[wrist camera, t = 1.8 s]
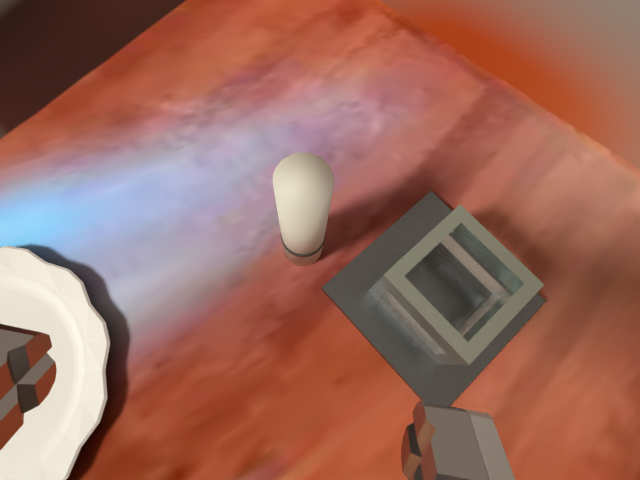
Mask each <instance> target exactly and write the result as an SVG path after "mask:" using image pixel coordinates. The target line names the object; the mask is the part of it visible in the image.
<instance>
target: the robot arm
mask: <svg viewBox="0 0 640 480" xmlns="http://www.w3.org/2000/svg"><path fill="white" fill-rule="evenodd" d="M51 347H52V343H51V339H50V336H49V335H48V334H45V333H42V332H37V331H32V330H28V329H23V328H18V327H13V326H9V325H4V324H0V450H1V449H2V448H3V447H4V446H5V445H6V444H7V442H8V441H9V440H10V439H11V438H12V437H13V435H14V434H15V433H16V432H17V431H18V430H19V428H20V427H21V426H22V425H23V423H24V413H26V412H28V411H30V410H32V409H33V408H35V407H37V406H39V405H40V404H41V403H42V402H43V400H44V399H45V398H46V397H47V396H48V394H49V392H50V390H51V388H52V386H53V384H54V382H55V379H56V372H57V369H56V363H55V361H54V360H53V359H52V358H51V357H50V356H49V355H48V353H47V352H48V351H49V350H50V349H51ZM413 418H414V422H413V423H412V424H410V425H408V426H407V427H406V430H405V433H404V436H403V441H402V448H401V461H402V471H403V473H404V474H405V476H406V477H407V478H408V480H515V477H514V475H513V472H512V469H511V467H510V464H509V461H508V459H507V456H506V454H505V451H504V448H503V446H502V443H501V440H500V438H499V435H498V432H497V430H496V427H495V425H494V422H493V419H492V417H491V416H490V415H489V414H488V413H482V412H477V411H471V410H466V409H465V410H463V409H461V408H455V407H449V406H444V405H438V404H432V403H426V402H418V403H417V404H416V406H415V408H414V411H413Z"/></svg>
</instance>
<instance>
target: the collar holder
mask: <svg viewBox="0 0 640 480" xmlns="http://www.w3.org/2000/svg"><path fill="white" fill-rule="evenodd" d="M543 286H544V284H543V283H542V282H541V281H540V280H539V279H538V278H537V277H536V276H535V275H534V274H533V273H532V272H531V271H530V270H529V269H528V268H527V267H525V266H524V265H523V264H522V263H521V262H520V261H519V260H518V259H517V258H516V257H515V256H514V255H513V254H512V253H511V252H510V251H509V250H508V249H507V248H506V247H504V246H503V245H502V244H501V243H500V242H499V241H498V240H497V239H496V238H495V237H494V236H493V235H492V234H491V233H490V232H489V231H488V230H487V229H486V228H485V227H483V226H482V225H481V224H480V223H479V222H478V221H477V220H476V219H475V218H474V217H473V216H472V215H471V214H470V213H469V212H468V211H467V210H466V209H465V208H464V207H463V206H461V205H459V206H458V207H456V208H455V209H454V210H453V211H452V210H451V209H450V208H449V207H448V206H447V205H446V204H445V203H443V202H442V201H441V200H440V199H439V198H438V197H437V196H436V195H435V194H434V193H433V192H432V191H430V192H429V193H428V194H427V195H426V196H424V197H423V198H422V199H421V200H420V201H419V202H418V203H417V204H415V205H414V206H413V207H412V208H411V209H410V210H409V211H408V212H406V213H405V214H404V215H403V216H402V217H401V218H400V219H399V220H397V221H396V222H395V223H394V224H393V225H392V226H391V227H390V228H388V229H387V230H386V231H385V232H384V233H383V234H382V235H380V236H379V237H378V238H377V239H376V240H375V241H374V242H373V243H371V244H370V245H369V246H368V247H367V248H366V249H365V250H364V251H362V252H361V253H360V254H359V255H358V256H357V257H356V258H355V259H353V260H352V261H351V262H350V263H349V264H348V265H347V266H346V267H344V268H343V269H342V270H341V271H340V272H339V273H338V274H336V275H335V276H334V277H333V278H332V279H331V280H330V281H329V282H327V283H326V284H325V285H324V286H323V287H322V288H321V289H322V290H323V291H324V293H325V294H326V295H327V296H328V297H329V298H330V299H331V300H332V301H333V303H334V304H335V305H336V306H337V307H338V308H339V309H340V310H341V311H342V313H343V314H344V315H345V316H346V317H347V318H348V319H349V320H350V321H351V323H352V324H353V325H354V326H355V327H356V328H357V329H358V330H359V331H360V333H361V334H362V335H363V336H364V337H365V338H366V339H367V340H368V341H369V343H370V344H371V345H372V346H373V347H374V348H375V349H376V350H377V351H378V353H379V354H380V355H381V356H382V357H383V358H384V359H385V360H386V361H387V363H388V364H389V365H390V366H391V367H392V368H393V369H394V370H395V371H396V373H397V374H398V375H399V376H400V377H401V378H402V379H403V380H404V381H405V383H406V384H407V385H408V386H409V387H410V388H411V389H412V390H413V391H414V393H415V394H416V395H417V396H418V397H419V398H420V399H421V400H422V401H423V402H426V403H432V404H438V405H444V406H450V405H451V404H452V403H453V402H454V401H455V400H456V398H457V397H458V396H459V395H460V394H461V393H462V392H463V391H464V390H465V389H466V388H467V386H468V385H469V384H470V383H471V382H472V381H473V380H474V379H475V378H476V377H477V376H478V374H479V373H480V372H481V371H482V370H483V369H484V368H485V367H486V366H487V365H488V364H489V363H490V361H491V360H492V359H493V358H494V357H495V356H496V355H497V354H498V353H499V352H500V351H501V349H502V348H503V347H504V346H505V345H506V344H507V343H508V342H509V341H510V340H511V339H512V338H513V336H514V335H515V334H516V333H517V332H518V331H519V330H520V329H521V328H522V327H523V326H524V324H525V323H526V322H527V321H528V320H529V319H530V318H531V317H532V316H533V315H534V314H535V312H536V311H537V310H538V309H539V308H540V307H541V306H542V305H543V304H544V303H545V302H546V301H545V300H544V299H543V298H542V297H541V296H540V295H539V294H538V293H537V292H538V291H539V290H540V289H541V288H542V287H543Z"/></svg>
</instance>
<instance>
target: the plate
mask: <svg viewBox="0 0 640 480" xmlns="http://www.w3.org/2000/svg"><path fill="white" fill-rule="evenodd" d="M0 324H4V325H9V326H13V327H18V328H23V329H28V330H32V331H37V332H42V333H45V334H48V335H49V336H50V339H51V343H52V347H51V349H50V350H49V351H48V352H47V353H48V355H49V356H50V357H51V358H52V359H53V360H54V361H55V363H56V369H57V372H56V379H55V382H54V384H53V386H52V388H51V390H50V392H49V394H48V396H47V397H46V398H45V399H44V400H43V402H42V403H41V404H40V405H39V406H37V407H35V408H33V409H32V410H30V411H28V412H26V413H24V423H23V425H22V426H21V427H20V428H19V430H18V431H17V432H16V433H15V434H14V435H13V437H12V438H11V439H10V440H9V441H8V442H7V444H6V445H5V446H4V447H3V448H2V449H1V450H0V480H67V479H68V478H69V476H70V474H71V472H72V469H73V467H74V465H75V462H76V460H77V458H78V455H79V453H80V451H81V448H82V446H83V445H84V444H85V442H86V441H87V440H88V438H89V437H90V436H91V434H92V433H93V431H94V430H95V429H96V427H97V426H98V425H99V423H100V422H101V419H102V416H103V413H104V410H105V406H106V403H107V400H108V388H107V376H106V368H107V362H108V357H109V352H110V346H111V341H110V336H109V332H108V327H107V323H106V321H105V320H104V319H103V318H102V316H101V315H100V314H99V313H98V311H97V310H96V309H95V307H94V306H93V305H92V303H91V300H90V298H89V295H88V292H87V290H86V287H85V284H84V282H83V281H82V280H81V279H80V278H79V277H78V276H76V275H75V274H74V273H73V272H72V271H71V270H70V269H67V268H64V267H61V266H58V265H55V264H51V263H48V262H46V261H44V260H43V259H42V258H40V257H39V256H37V255H36V254H34V253H33V252H31V251H30V250H28V249H23V248H17V247H12V246H5V247H0Z"/></svg>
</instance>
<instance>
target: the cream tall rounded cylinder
mask: <svg viewBox="0 0 640 480" xmlns="http://www.w3.org/2000/svg"><path fill="white" fill-rule="evenodd" d="M273 187H274V193H275V199H276V205H277V211H278V217H279V223H280V229H281V238H282V243H283V247H284V252H285V255H286V257H287V258H288V260H289V261H290V262H292V263H293V264H295V265H298V266H308V265H311V264H313V263H315V262H316V261H317V260H318V259H319V257H320V255H321V253H322V248H323V244H324V240H325V231H326V226H327V220H328V215H329V209H330V204H331V198H332V193H333V187H334V175H333V172H332V169H331V167H330V166H329V164H328V163H327V162H326V161H325V160H324V159H322V158H321V157H319V156H317V155H314V154H311V153H295V154H292V155H290V156H288V157H286V158H284V159H283V160H282V161H281V162H280V163H279V164H278V165H277V167H276V169H275V171H274V174H273Z"/></svg>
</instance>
